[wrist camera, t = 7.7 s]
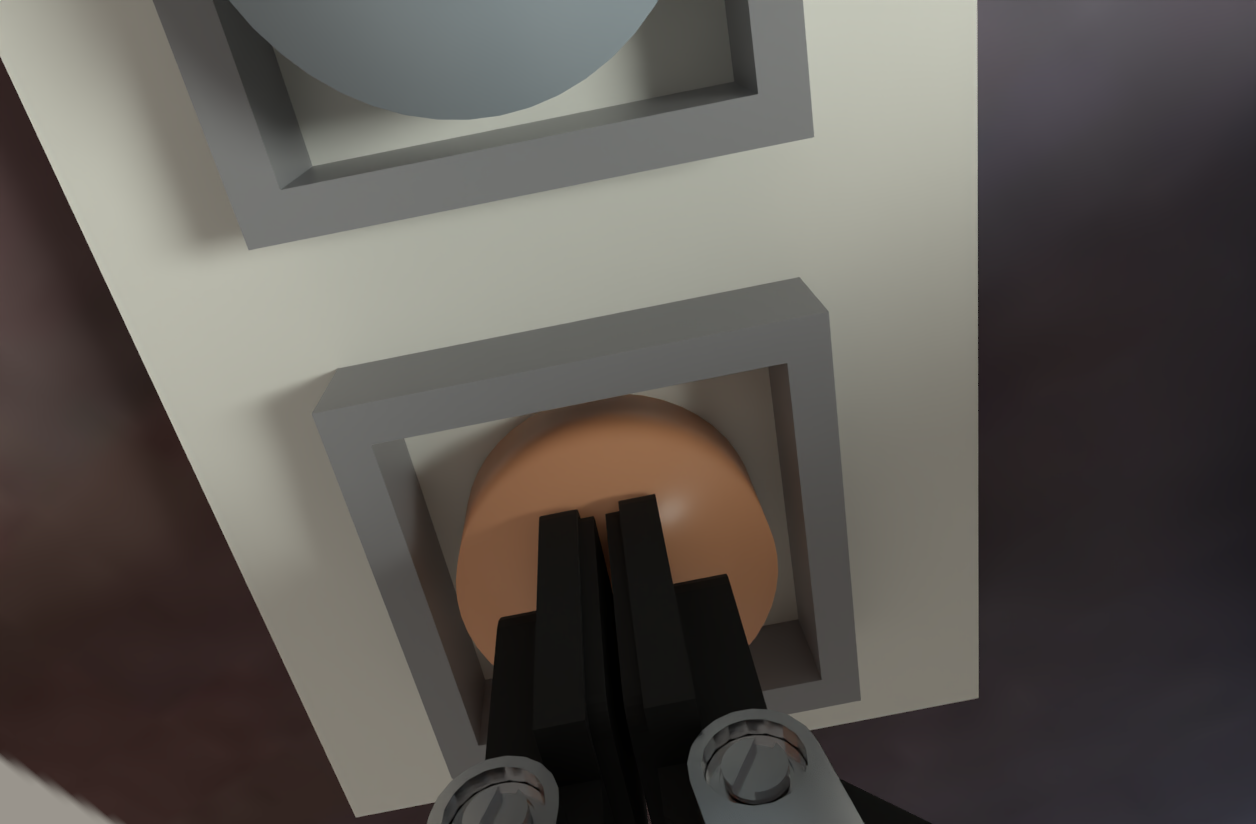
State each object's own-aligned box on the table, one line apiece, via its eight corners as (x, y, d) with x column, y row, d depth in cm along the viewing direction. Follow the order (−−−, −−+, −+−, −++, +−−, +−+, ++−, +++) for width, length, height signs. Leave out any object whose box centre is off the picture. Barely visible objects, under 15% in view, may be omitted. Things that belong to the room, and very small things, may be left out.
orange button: (736, 365, 13) (758, 413, 11) (769, 609, 15) (792, 676, 13) (431, 426, 13) (415, 481, 12) (505, 660, 15) (500, 732, 14)
